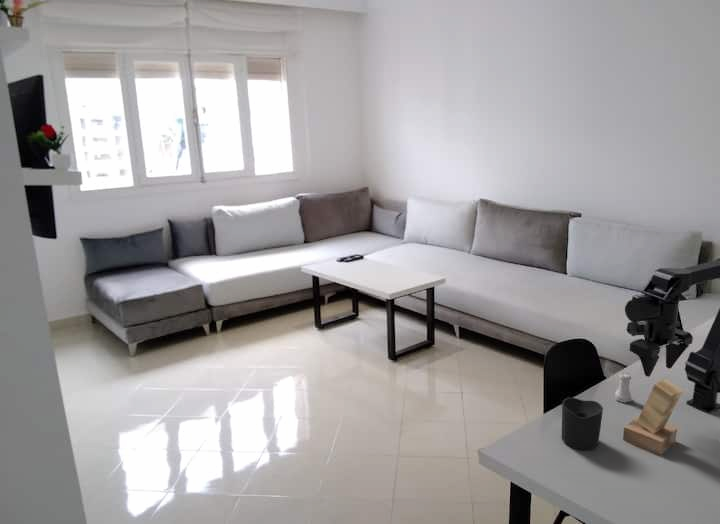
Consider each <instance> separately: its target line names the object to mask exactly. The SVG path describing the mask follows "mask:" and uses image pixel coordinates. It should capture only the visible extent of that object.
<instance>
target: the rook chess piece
mask: <svg viewBox="0 0 720 524" xmlns="http://www.w3.org/2000/svg"><path fill="white" fill-rule="evenodd" d="M618 379H619V381H618V382H619V385H618V388H617V389H616V392H615V393H614V399H615V401H617V400H618V401H617V402H619V401H620V402H619V403H623V402H624V404H627V403H626V402H628V403H630V402H631V401H632V394H631V392H630V384H631V383H630V380H632V377H631V374H630V373H628V372H621V373H619V375H618Z"/></svg>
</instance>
